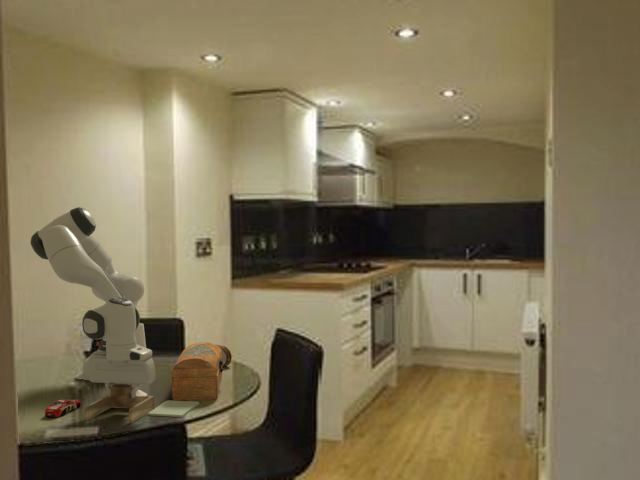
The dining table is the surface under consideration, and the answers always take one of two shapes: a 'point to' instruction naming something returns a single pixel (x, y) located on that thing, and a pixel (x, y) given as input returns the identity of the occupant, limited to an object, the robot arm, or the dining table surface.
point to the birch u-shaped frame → (136, 410)
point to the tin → (225, 355)
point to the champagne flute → (140, 341)
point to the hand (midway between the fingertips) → (122, 397)
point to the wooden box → (197, 372)
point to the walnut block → (121, 395)
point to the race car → (62, 407)
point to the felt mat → (173, 408)
